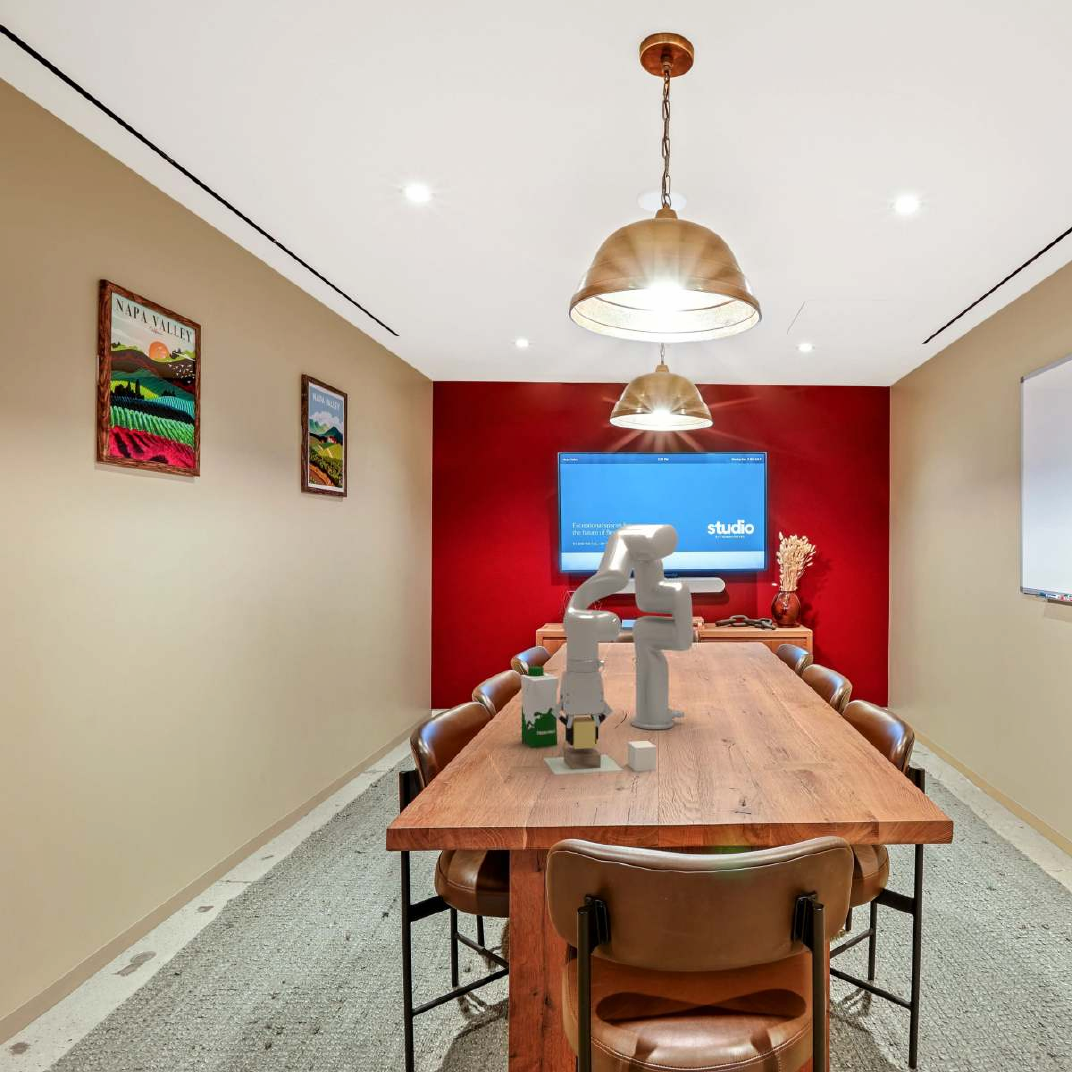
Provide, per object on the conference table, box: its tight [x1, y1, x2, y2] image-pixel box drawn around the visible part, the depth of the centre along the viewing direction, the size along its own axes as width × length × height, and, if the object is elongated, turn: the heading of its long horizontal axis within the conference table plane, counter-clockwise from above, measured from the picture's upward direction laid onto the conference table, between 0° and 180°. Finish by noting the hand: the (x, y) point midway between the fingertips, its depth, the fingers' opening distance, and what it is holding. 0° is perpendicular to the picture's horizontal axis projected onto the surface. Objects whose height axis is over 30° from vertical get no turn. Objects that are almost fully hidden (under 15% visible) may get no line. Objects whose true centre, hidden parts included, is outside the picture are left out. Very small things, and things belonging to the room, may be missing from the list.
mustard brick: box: [570, 716, 596, 749], centre depth 163 cm, size 5×5×6 cm
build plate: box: [543, 754, 623, 776], centre depth 163 cm, size 16×12×1 cm
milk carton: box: [520, 665, 560, 749], centre depth 180 cm, size 9×9×20 cm
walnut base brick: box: [563, 746, 602, 770], centre depth 163 cm, size 7×7×3 cm
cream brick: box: [627, 740, 657, 772], centre depth 160 cm, size 5×5×6 cm
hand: (581, 742), depth 163 cm, fingers closed on mustard brick, 5 cm apart
